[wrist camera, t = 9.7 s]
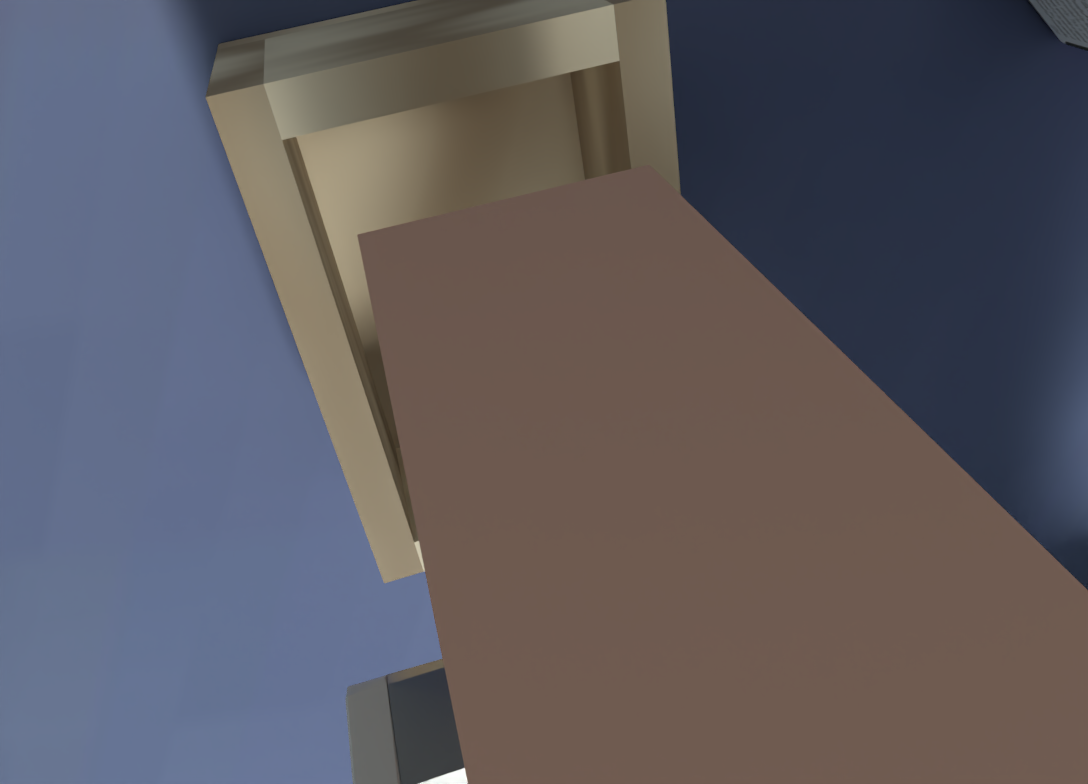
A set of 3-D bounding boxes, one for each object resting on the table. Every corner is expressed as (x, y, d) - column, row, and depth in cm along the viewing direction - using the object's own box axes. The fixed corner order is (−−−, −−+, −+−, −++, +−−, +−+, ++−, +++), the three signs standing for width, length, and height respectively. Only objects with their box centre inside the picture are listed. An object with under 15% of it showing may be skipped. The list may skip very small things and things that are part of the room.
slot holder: (592, -39, 20) (665, -8, 16) (642, 395, 27) (703, 487, 23) (218, 44, 19) (205, 97, 15) (367, 473, 26) (383, 583, 22)
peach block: (649, 164, 13) (1654, 1141, 4) (679, 545, 18) (1160, 1425, 8) (357, 235, 13) (633, 1596, 3) (465, 609, 17) (711, 1629, 8)
